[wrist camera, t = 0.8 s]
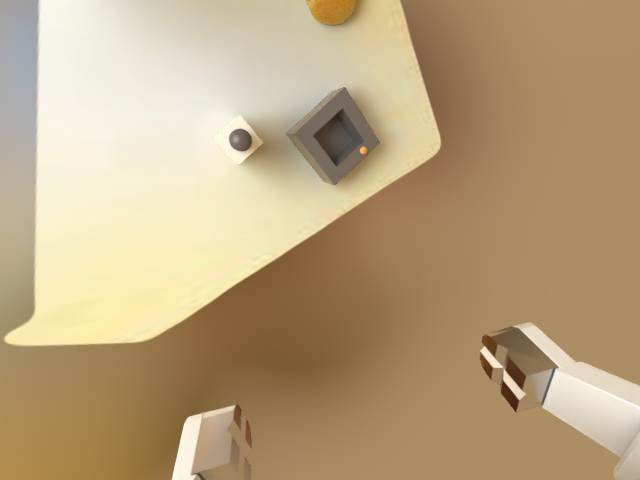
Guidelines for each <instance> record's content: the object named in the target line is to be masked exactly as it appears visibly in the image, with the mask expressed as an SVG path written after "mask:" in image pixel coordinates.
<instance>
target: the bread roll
mask: <svg viewBox="0 0 640 480" xmlns="http://www.w3.org/2000/svg"><path fill="white" fill-rule="evenodd" d="M306 1H307V3H308V5H309V7H310V10H311V13H312V14H313V16H314V18H315V19H316V20H317V21H319V22H321V23H325V24H329V25H337V24H341V23H342V22H344V21H345V20H346V19H348V18H349V17H350V16H351V14H352V12H353V11H354V9H355V6H356V3H357V0H306Z"/></svg>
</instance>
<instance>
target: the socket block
mask: <svg viewBox="0 0 640 480" xmlns="http://www.w3.org/2000/svg"><path fill="white" fill-rule="evenodd" d="M287 136H288V137H289V138H290V139H291V141H292V142H293V143H294V145H295V146H296V147H297V148H298V150H299V151H300V152H301V153H302V155H303V156H304V157H305V158H306V160H307V161H308V162H309V163H310V165H311V166H312V167H313V168H314V170H315V171H316V172H317V174H318V175H319V176H320V177H321V179H322V180H323V181H324V182H327V183H330V184H332V185H336V184H337V183H338V182H339V181H340V180H341V179H342V178H343V177H344V176H345V175H346V174H347V173H348V172H349V171H350V170H352V169H353V168H354V167H355V166H356V165H357V164H358V163H359V162H360V161H361V160H362V159H363V158H364V157H365V156H366V155H368V154H369V153H370V152H371V151H372V150H373V149H374V148H375V147H376V146H377V145H378V144H379V143H380V142H379V140H378V139H377V137H376V136H375V134H374V132H373V131H372V129H371V128H370V126H369V125H368V123H367V121H366V120H365V118H364V117H363V115H362V113H361V112H360V110H359V109H358V107H357V106H356V104H355V102H354V101H353V99H352V98H351V96H350V94H349V93H348V91H347V90H346V88H345V87H343V88H341V89H338V90H335V91H333V92H331V93H330V94H329V95H328V96H327V97H326V98H325V99H324V100H322V101H321V102H320V103H319V104H318V105H317V106H316V107H315V108H314V109H313V110H312V111H311V112H309V113H308V114H307V115H306V116H305V117H304V118H303V119H302V120H301V121H300V122H299V123H297V124H296V125H295V126H294V127H293V128H292V129H291V130H290V131H289V132H288V133H287Z"/></svg>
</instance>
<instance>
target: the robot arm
mask: <svg viewBox="0 0 640 480" xmlns="http://www.w3.org/2000/svg"><path fill="white" fill-rule="evenodd" d="M482 343H483V345H484V348H483V349H482V350H481V351H480V360H481V364H482V367H483V369H484V370H485V372H486V374H487V375H488V376H489V378H490V379H491V380H492V381H494V382H496V383H497V384H499V385H500V388H501V394H502V395H503V396H504V398H505V399H506V400H507V402H508V403H509V404H510V405H511V407H512V408H513V409H514V411H515V412H516V413H517V412H521V411H524V410H528V409H532V408H536V407H539V406H543V408H544V409H546V410H547V411H549V412H550V413H552V414H553V415H555V416H557V417H558V418H560V419H561V420H563V421H564V422H566V423H568V424H569V425H571V426H572V427H574V428H575V429H577V430H579V431H580V432H582V433H583V434H585V435H587V436H589V437H590V438H591V439H593V440H594V441H596V442H598V443H599V444H601V445H602V446H604V447H605V448H607V449H609V450H610V451H612V452H613V453H615V454H616V455H618V456H620V457H621V460H620V461H619V463H618V464H617V466H616V468H615V469H614V477H615V478H616V479H617V480H640V386H638V385H636V384H634V383H631V382H629V381H626V380H624V379H622V378H619V377H617V376H614V375H612V374H609V373H607V372H605V371H602V370H600V369H597V368H595V367H593V366H590V365H588V364H585V363H583V362H577V363H576V362H575V361H574V360H573V359H572V358H571V357H569V356H568V355H567V354H566V353H565V352H564V351H563V350H562V349H560V348H559V347H558V346H557V345H556V344H555V343H554V342H553V341H552V340H550V339H549V338H548V337H547V336H546V335H545V334H544V333H543V332H541V331H540V330H539V329H538V328H537V327H536V326H535V325H533V324H531V323H523V324H520V325H516V326H513V327H512V326H511V327H508V328H504V329H501V330H498V331H495V332H491V333H488V334H485V335H484V336H483V337H482ZM241 412H242V409H241V408H240V406H239V405H238V404H236V405H232V406H228V407H224V408H221V409H217V410H213V411H209V412H205V413H201V414H198V415H194V416H191V417H188V418H187V420H186V422H185V424H184V428H183V432H182V437H181V441H180V446H179V450H178V455H177V460H176V464H175V468H174V473H173V478H172V480H251V465H250V464H249V462H248V460H247V457H248V455H249V453H250V451H251V448H252V445H251V444H252V439H251V431H250V426H249V423H248V421H247V419H246V417H243V416H241Z"/></svg>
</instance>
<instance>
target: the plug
mask: <svg viewBox="0 0 640 480" xmlns="http://www.w3.org/2000/svg"><path fill="white" fill-rule="evenodd" d="M213 139H214V140H215V141H216V142H217V143H218V144H219V146H220V147H221V148H222V149H223V150H224V151H225V152H226V153H227V154H228V155H229V156H230V157H231V158H232V159H233V160H234V161H235V162H236V163H237V164H239V165H240V164H241V163H242V162H243V161H244V160H245V159H246V158H247V157H248V156H249V155H250V154H252V153H253V152H254V151H255V150H256V149H257V148H258V147H259V146H260V145H261V144H262V143H264V142H263V141H262V140H261V139H260V138H259V137H258V135H257V134H256V133H255V132H254V131H253V129H252V128H251V127H250V126H249V125H248V124H247V122H246V121H245V120H244V119H243V118H242V117H241V115H240V114H239V115H238V116H237V117H236V118H234V119H233V120H232V121H231V122H230V123H229V124H228V125H227V126H225V127H224V128H223V129H222V130H221V131H220V132H219V133H218V134H217V135H216V136H214V137H213Z"/></svg>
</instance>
